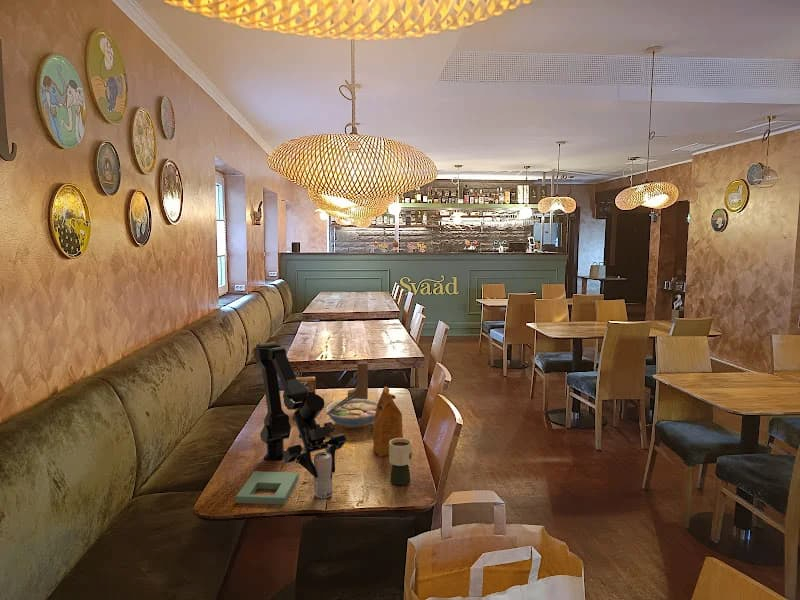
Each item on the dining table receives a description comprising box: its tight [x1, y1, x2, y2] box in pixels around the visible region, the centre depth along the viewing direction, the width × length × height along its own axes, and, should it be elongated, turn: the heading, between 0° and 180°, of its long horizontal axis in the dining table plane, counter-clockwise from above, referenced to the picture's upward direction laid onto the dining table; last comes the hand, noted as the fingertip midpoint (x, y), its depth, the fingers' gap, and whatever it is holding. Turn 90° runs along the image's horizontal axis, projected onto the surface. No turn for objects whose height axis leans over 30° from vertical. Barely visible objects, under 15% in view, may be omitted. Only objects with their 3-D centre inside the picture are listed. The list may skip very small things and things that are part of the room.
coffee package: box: [372, 385, 404, 457], centre depth 189 cm, size 10×12×22 cm
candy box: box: [294, 376, 317, 412], centre depth 228 cm, size 9×4×15 cm, turn 99°
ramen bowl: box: [325, 395, 378, 430], centre depth 214 cm, size 25×23×8 cm
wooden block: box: [347, 361, 369, 400], centre depth 243 cm, size 9×4×18 cm, turn 96°
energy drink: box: [313, 451, 333, 499], centre depth 157 cm, size 5×5×12 cm
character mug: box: [388, 437, 413, 485], centre depth 166 cm, size 11×7×13 cm, turn 10°
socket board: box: [235, 470, 299, 505], centre depth 161 cm, size 16×14×2 cm
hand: (325, 474), depth 156 cm, fingers closed on energy drink, 5 cm apart
